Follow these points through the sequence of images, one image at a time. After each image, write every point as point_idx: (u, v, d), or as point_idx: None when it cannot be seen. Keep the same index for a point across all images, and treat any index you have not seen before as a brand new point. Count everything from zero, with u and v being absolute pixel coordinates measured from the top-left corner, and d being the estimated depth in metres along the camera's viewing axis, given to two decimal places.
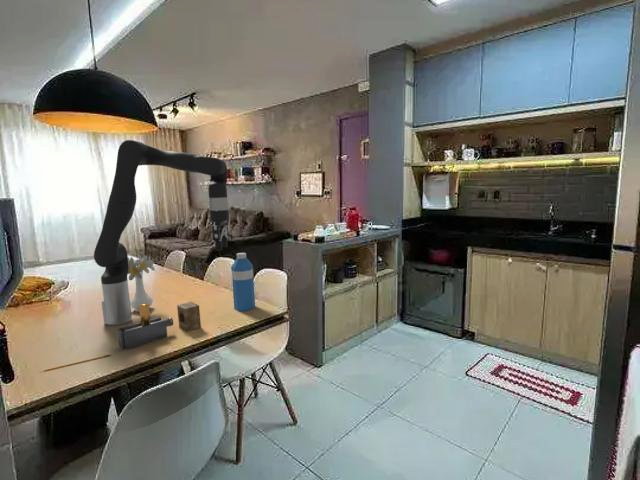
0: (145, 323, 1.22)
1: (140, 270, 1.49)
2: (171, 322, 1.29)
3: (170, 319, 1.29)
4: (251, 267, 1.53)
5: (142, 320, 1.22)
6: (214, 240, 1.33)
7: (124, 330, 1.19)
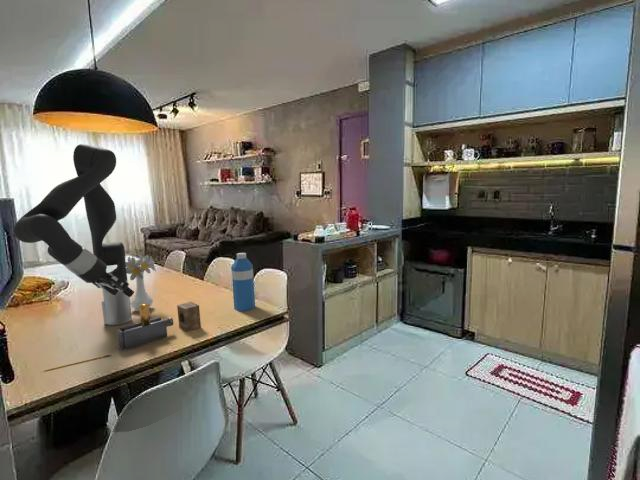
0: (145, 323, 1.22)
1: (142, 270, 1.48)
2: (171, 322, 1.29)
3: (170, 319, 1.29)
4: (251, 267, 1.53)
5: (142, 320, 1.22)
6: None
7: (124, 330, 1.19)
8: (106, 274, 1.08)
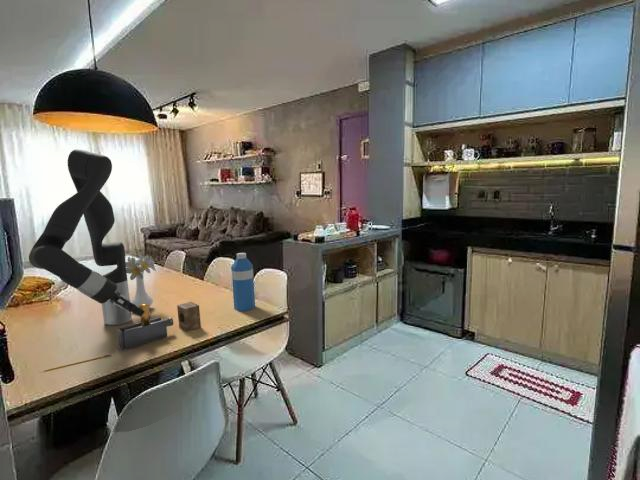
0: (145, 323, 1.22)
1: (142, 270, 1.49)
2: (171, 322, 1.29)
3: (170, 319, 1.29)
4: (251, 267, 1.53)
5: (142, 320, 1.22)
6: None
7: (124, 330, 1.19)
8: (115, 296, 1.12)
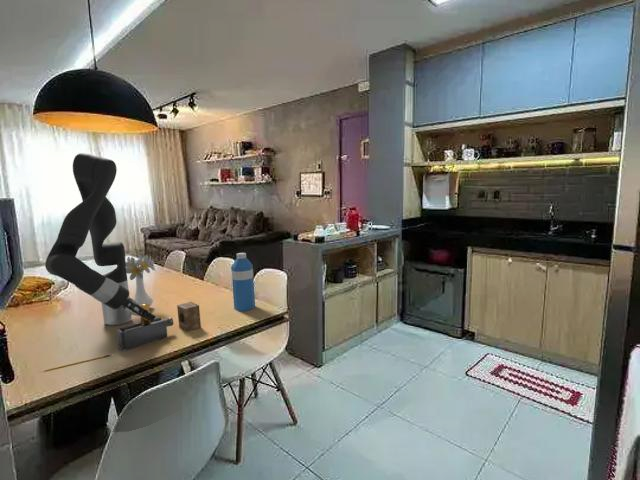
0: (145, 323, 1.22)
1: (141, 270, 1.49)
2: (171, 322, 1.29)
3: (170, 319, 1.29)
4: (251, 267, 1.53)
5: (142, 320, 1.22)
6: None
7: (124, 330, 1.19)
8: (127, 302, 1.15)
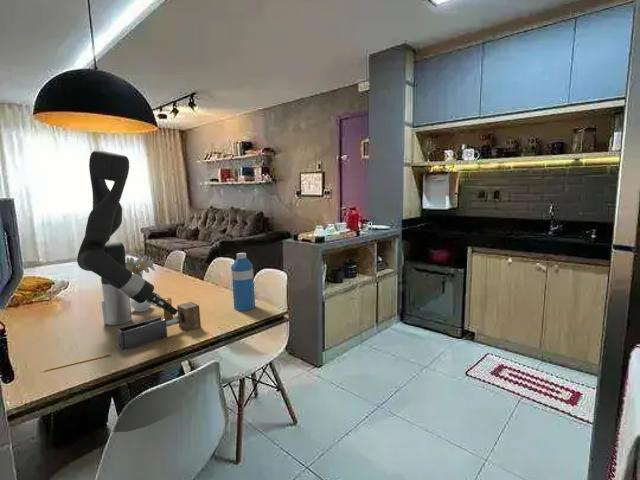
0: (168, 317, 1.28)
1: (140, 270, 1.49)
2: None
3: None
4: (251, 267, 1.53)
5: (165, 314, 1.28)
6: None
7: (149, 323, 1.24)
8: (152, 296, 1.21)
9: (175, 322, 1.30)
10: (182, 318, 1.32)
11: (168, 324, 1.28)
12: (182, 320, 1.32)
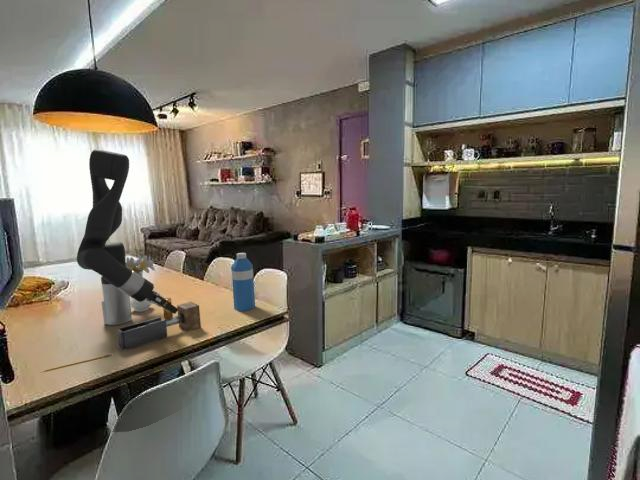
0: (168, 317, 1.28)
1: (140, 270, 1.49)
2: None
3: None
4: (251, 267, 1.53)
5: (165, 314, 1.27)
6: None
7: None
8: (152, 295, 1.21)
9: (175, 322, 1.30)
10: (182, 318, 1.31)
11: (168, 324, 1.28)
12: (182, 320, 1.32)
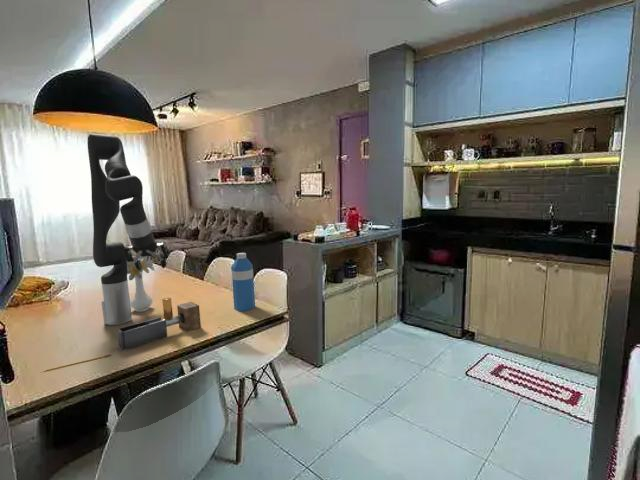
0: (168, 317, 1.28)
1: (140, 270, 1.49)
2: None
3: None
4: (251, 267, 1.53)
5: (165, 314, 1.27)
6: None
7: None
8: (155, 242, 1.24)
9: (175, 322, 1.30)
10: (182, 318, 1.31)
11: (168, 324, 1.28)
12: (182, 320, 1.32)
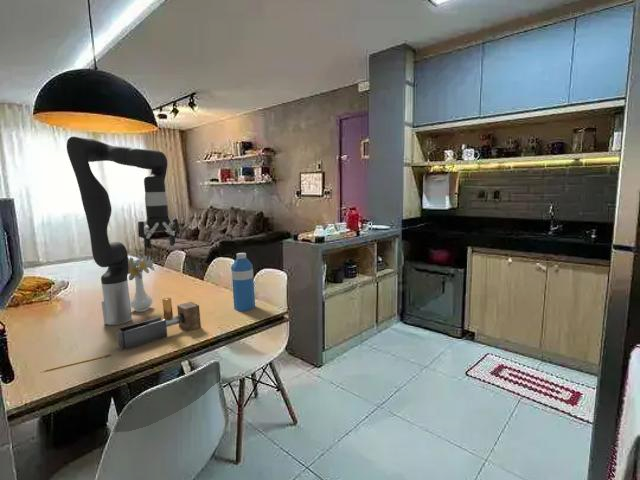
0: (168, 317, 1.28)
1: (140, 270, 1.49)
2: None
3: None
4: (251, 267, 1.53)
5: (165, 314, 1.27)
6: None
7: None
8: None
9: (175, 322, 1.30)
10: (182, 318, 1.31)
11: (168, 324, 1.28)
12: (182, 320, 1.32)
